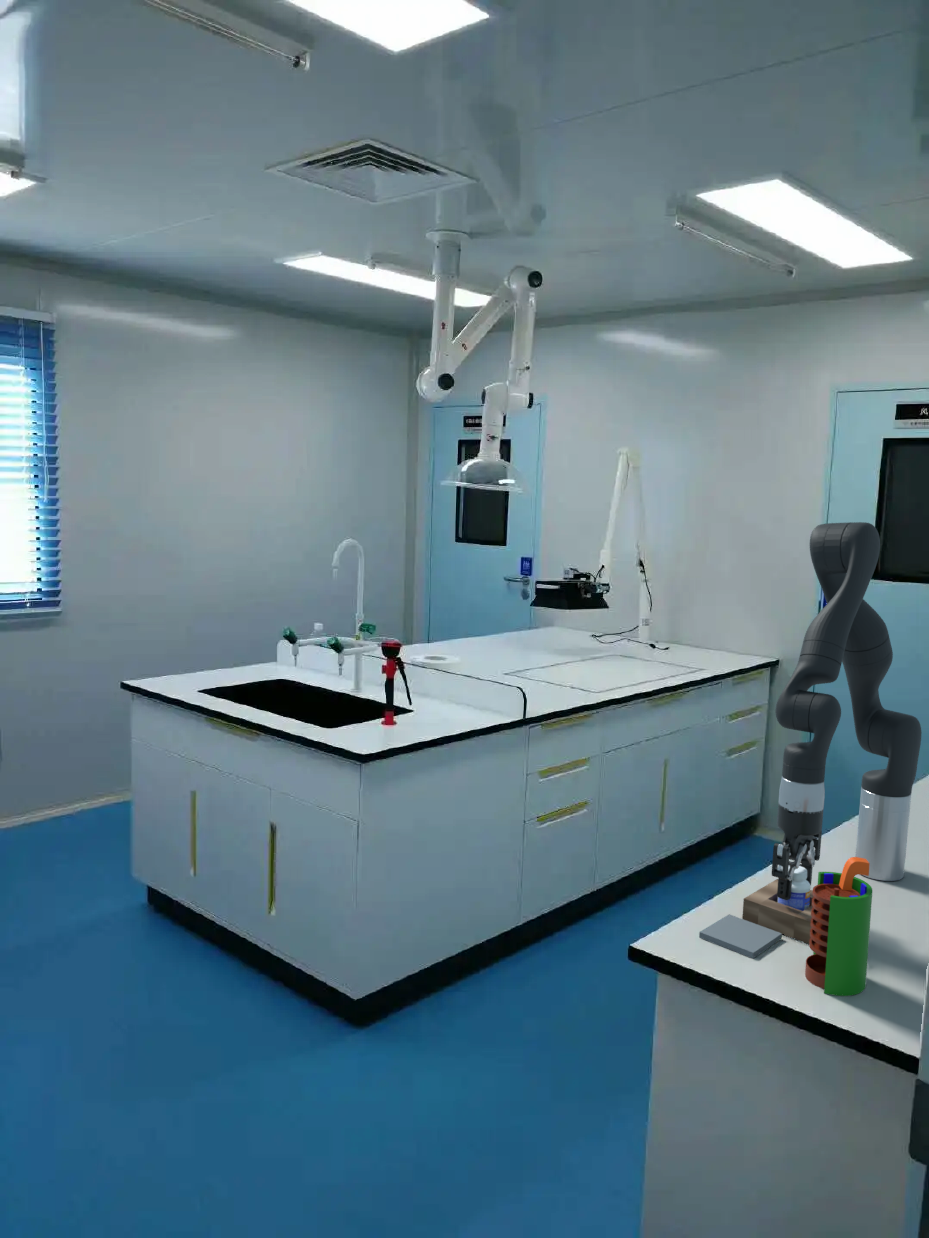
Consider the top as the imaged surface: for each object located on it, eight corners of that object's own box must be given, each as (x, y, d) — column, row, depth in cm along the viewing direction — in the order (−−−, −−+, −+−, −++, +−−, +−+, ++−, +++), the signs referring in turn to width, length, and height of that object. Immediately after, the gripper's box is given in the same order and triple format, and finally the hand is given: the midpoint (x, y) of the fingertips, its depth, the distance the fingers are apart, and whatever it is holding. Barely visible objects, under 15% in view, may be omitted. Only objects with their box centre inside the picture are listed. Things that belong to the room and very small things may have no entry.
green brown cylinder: (793, 963, 157) (802, 845, 154) (846, 962, 157) (856, 845, 154) (821, 996, 147) (831, 871, 144) (877, 995, 147) (889, 870, 144)
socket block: (775, 899, 181) (777, 878, 180) (841, 921, 172) (843, 900, 171) (742, 919, 172) (743, 898, 171) (810, 944, 163) (811, 922, 163)
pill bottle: (810, 929, 169) (814, 876, 167) (777, 925, 170) (781, 873, 168) (805, 915, 174) (809, 864, 173) (774, 912, 175) (778, 861, 174)
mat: (728, 919, 172) (729, 914, 172) (781, 938, 165) (781, 933, 165) (699, 937, 165) (699, 931, 165) (752, 958, 158) (753, 952, 158)
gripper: (799, 789, 177) (792, 874, 179) (761, 806, 166) (755, 896, 169) (839, 799, 171) (832, 887, 174) (802, 818, 161) (795, 910, 164)
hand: (794, 891), depth 171 cm, fingers open, 7 cm apart
